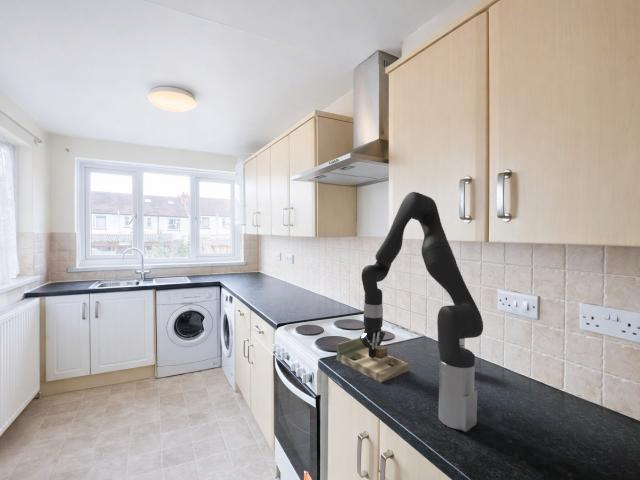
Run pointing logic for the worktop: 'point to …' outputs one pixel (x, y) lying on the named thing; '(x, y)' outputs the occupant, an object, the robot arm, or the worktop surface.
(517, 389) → the worktop surface
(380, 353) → the walnut block
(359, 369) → the tray
